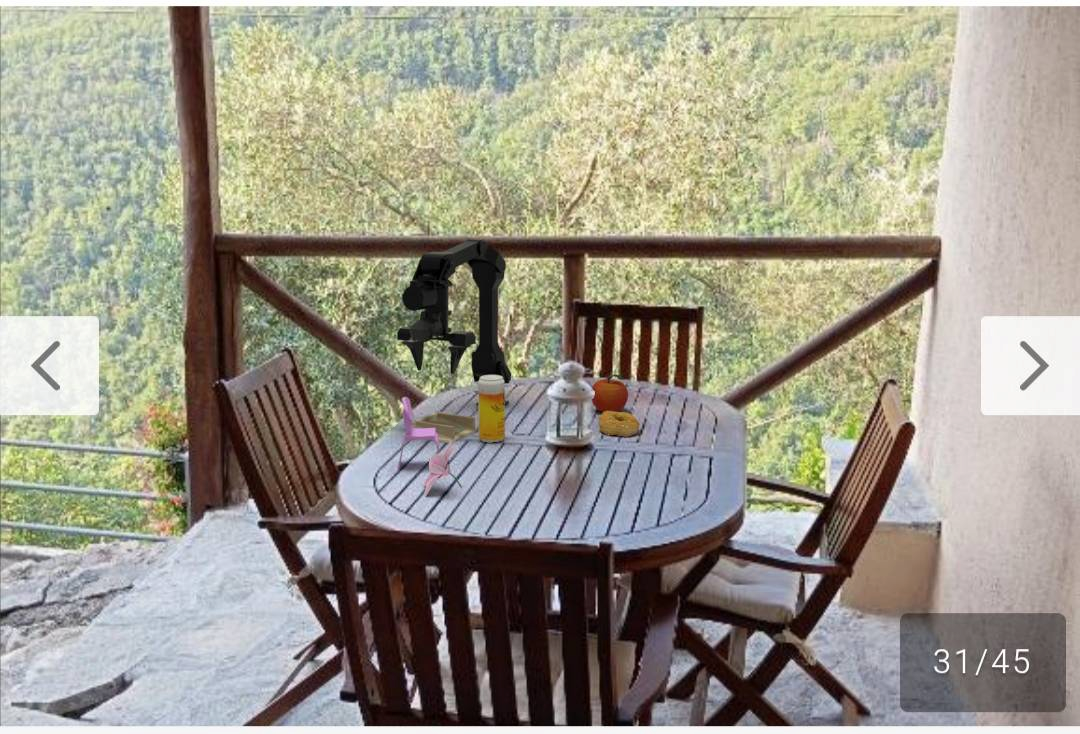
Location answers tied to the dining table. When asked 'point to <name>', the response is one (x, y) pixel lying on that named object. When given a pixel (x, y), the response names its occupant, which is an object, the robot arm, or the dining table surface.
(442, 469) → the lily
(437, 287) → the robot arm
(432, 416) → the gold tray
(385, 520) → the dining table surface
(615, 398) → the fruit
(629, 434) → the bagel
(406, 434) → the toy chair
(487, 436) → the beer can
